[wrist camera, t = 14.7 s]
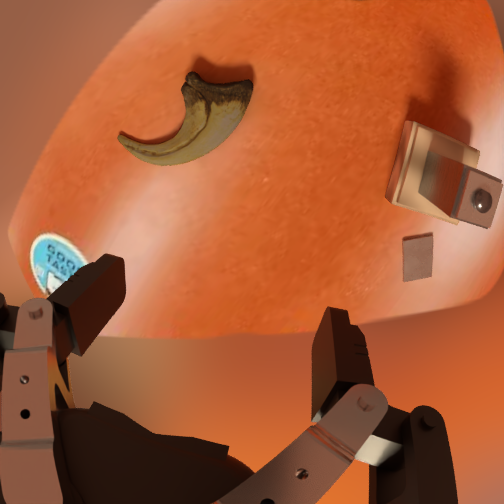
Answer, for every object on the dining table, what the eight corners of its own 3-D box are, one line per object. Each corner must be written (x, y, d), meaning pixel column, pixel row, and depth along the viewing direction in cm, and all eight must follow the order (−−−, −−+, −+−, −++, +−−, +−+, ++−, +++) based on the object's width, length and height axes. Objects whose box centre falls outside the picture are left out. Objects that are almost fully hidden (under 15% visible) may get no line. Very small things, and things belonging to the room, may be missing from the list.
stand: (405, 120, 32) (416, 121, 29) (468, 147, 32) (483, 152, 28) (384, 197, 37) (393, 205, 34) (447, 217, 37) (459, 227, 33)
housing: (427, 150, 30) (471, 167, 21) (462, 162, 30) (509, 183, 20) (417, 192, 33) (456, 222, 23) (451, 202, 32) (493, 234, 23)
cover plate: (401, 238, 40) (403, 241, 39) (430, 233, 39) (433, 235, 38) (401, 279, 43) (403, 282, 42) (429, 273, 42) (431, 276, 41)
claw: (226, 51, 32) (219, 46, 29) (271, 111, 35) (268, 111, 32) (122, 137, 40) (109, 141, 37) (160, 190, 43) (150, 197, 40)
